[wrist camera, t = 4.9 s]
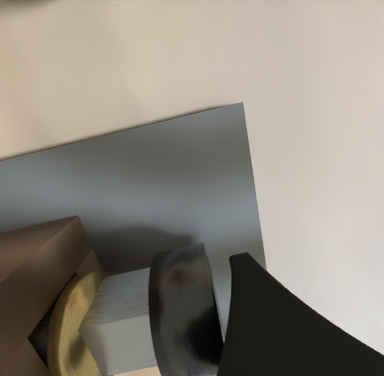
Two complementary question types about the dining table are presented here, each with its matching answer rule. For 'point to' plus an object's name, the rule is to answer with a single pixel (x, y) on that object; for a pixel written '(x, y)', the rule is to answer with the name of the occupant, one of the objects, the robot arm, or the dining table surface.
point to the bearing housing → (121, 214)
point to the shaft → (136, 320)
